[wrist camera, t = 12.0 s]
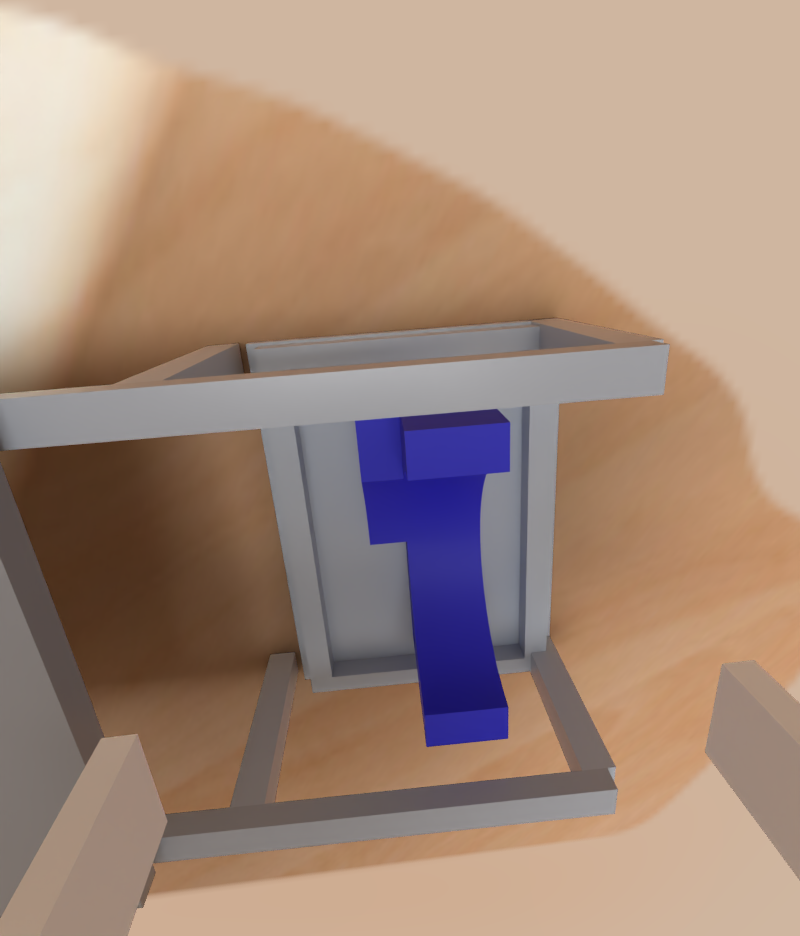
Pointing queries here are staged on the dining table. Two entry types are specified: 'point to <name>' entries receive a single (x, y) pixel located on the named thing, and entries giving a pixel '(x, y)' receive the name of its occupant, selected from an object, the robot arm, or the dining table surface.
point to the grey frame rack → (382, 565)
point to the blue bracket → (441, 556)
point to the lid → (35, 706)
